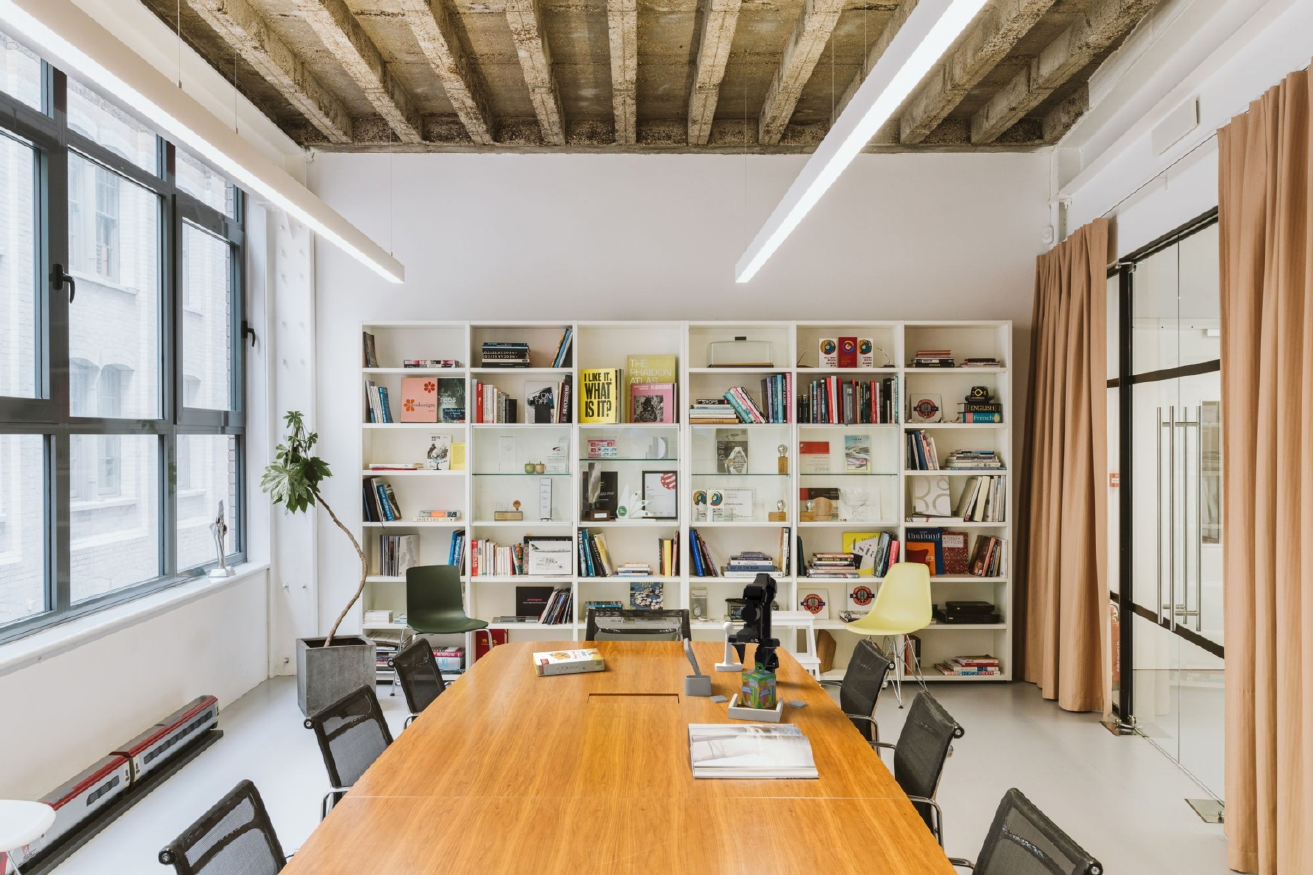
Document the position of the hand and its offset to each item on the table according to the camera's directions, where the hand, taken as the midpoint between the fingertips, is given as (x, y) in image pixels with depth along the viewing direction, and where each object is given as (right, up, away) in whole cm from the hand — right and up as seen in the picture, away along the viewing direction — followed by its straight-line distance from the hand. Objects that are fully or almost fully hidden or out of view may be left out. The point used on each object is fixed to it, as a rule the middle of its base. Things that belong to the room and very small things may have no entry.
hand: (753, 665), depth 274 cm
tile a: (+16, -15, +2) cm, 22 cm away
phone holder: (-19, -15, +21) cm, 32 cm away
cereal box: (-72, -16, +51) cm, 89 cm away
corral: (0, -15, -5) cm, 16 cm away
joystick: (-5, -15, +46) cm, 49 cm away
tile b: (-12, -15, +8) cm, 21 cm away
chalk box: (+2, -15, +2) cm, 15 cm away
